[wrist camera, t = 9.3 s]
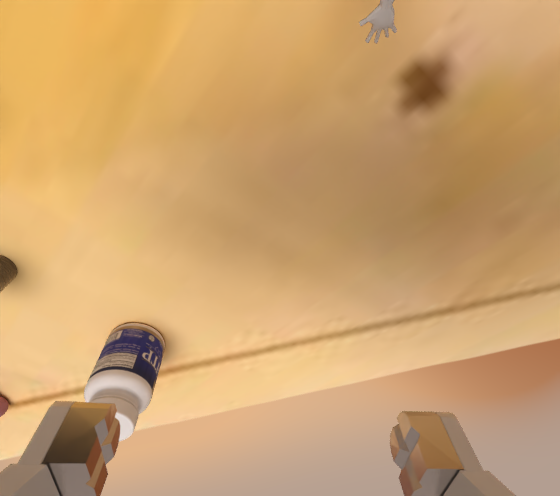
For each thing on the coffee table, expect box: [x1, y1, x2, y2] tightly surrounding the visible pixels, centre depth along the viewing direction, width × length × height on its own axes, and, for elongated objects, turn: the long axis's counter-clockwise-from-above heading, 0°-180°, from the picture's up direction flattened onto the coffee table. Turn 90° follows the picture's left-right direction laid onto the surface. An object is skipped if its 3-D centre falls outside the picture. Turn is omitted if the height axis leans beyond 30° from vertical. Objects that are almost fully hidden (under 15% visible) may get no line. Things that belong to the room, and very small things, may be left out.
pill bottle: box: [84, 323, 165, 441], centre depth 31 cm, size 5×5×9 cm
